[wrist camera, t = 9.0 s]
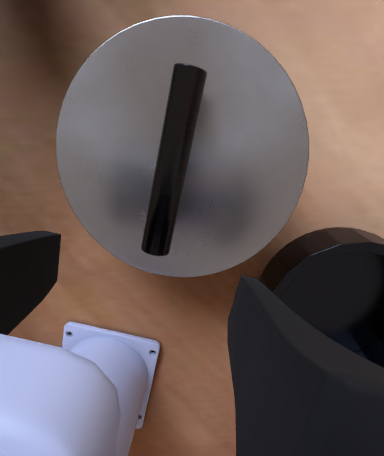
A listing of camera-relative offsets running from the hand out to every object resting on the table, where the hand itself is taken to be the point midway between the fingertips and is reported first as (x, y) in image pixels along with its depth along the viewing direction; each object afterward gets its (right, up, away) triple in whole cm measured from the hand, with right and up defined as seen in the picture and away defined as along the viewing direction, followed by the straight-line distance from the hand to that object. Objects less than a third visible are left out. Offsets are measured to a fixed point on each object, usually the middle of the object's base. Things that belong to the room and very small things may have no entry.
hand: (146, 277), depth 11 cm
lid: (+1, +5, +3) cm, 6 cm away
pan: (+12, -3, +11) cm, 17 cm away
